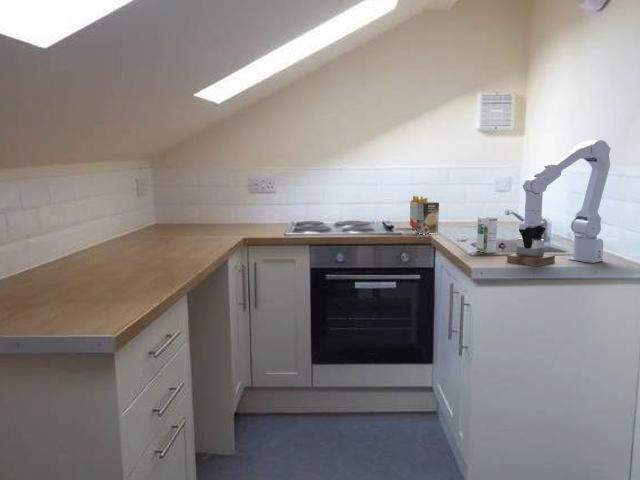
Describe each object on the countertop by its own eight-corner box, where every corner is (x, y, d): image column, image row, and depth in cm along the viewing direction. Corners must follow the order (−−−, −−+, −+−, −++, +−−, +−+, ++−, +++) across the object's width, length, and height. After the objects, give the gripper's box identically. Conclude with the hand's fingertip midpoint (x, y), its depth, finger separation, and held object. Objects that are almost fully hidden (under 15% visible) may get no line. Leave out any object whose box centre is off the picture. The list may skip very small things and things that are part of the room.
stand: (554, 262, 197) (554, 255, 196) (537, 266, 189) (537, 259, 189) (524, 257, 206) (524, 251, 205) (507, 261, 198) (507, 255, 198)
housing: (543, 255, 196) (544, 239, 195) (536, 257, 193) (537, 240, 192) (523, 252, 202) (524, 237, 201) (516, 254, 199) (517, 238, 198)
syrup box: (475, 251, 220) (477, 216, 218) (487, 250, 223) (488, 215, 220) (484, 253, 215) (485, 217, 213) (496, 252, 217) (498, 217, 215)
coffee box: (423, 235, 265) (424, 203, 263) (416, 234, 271) (416, 202, 269) (438, 234, 269) (439, 202, 267) (430, 232, 275) (431, 201, 272)
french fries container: (415, 228, 292) (415, 195, 289) (431, 230, 284) (432, 196, 281) (409, 229, 289) (410, 195, 286) (425, 231, 281) (426, 197, 278)
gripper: (533, 208, 202) (531, 243, 204) (512, 210, 193) (510, 247, 195) (551, 209, 197) (549, 245, 199) (530, 212, 188) (528, 250, 190)
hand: (531, 247), depth 197 cm, fingers closed on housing, 5 cm apart
